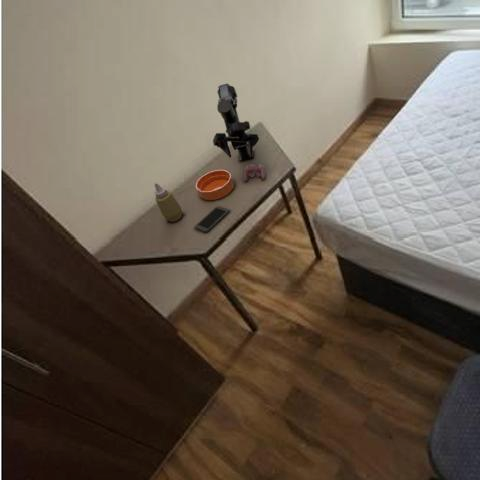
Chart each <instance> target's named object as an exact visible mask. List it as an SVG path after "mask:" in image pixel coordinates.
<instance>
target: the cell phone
mask: <svg viewBox="0 0 480 480" xmlns="http://www.w3.org/2000/svg"><path fill="white" fill-rule="evenodd" d="M229 213H230V210H229V209H227V208H224V207H221V206H215V208H213V209H212V210H211V211H210V212H209V213H208V214H206V215H205V216H204V217H203V218H202V219H201V220H200V221H199V222H198V223H197V224H196V225H194V228H195V229H196V230H199V231H202V232H204V233H209V232H210V230H212V229H213V228H214V227H215V226H216V225H218V224H219V222H220V221H221V220H223V219H224V218H225V217H226V216H227V215H228V214H229Z"/></svg>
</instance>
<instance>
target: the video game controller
mask: <svg viewBox="0 0 480 480" xmlns="http://www.w3.org/2000/svg"><path fill="white" fill-rule="evenodd" d="M255 176H256V177H261V179H262V180H265V179H266V167H265V166H264V165H263V164H259V163H252V164H249V165H246V166H245V167H244V170H243V180H244V181H245V182H247V181H248V179H249V177H250V178H254V177H255Z"/></svg>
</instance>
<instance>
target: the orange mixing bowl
mask: <svg viewBox="0 0 480 480" xmlns="http://www.w3.org/2000/svg"><path fill="white" fill-rule="evenodd" d="M234 187H235V181H234V179H233V176H232V174H231V173H230V172H229V171H228V170H225V169H217V170H216V169H214V170H212V171H209V172H207V173H205V174H203V175H202V176H201V177H200V178H198V179H197V181H196V182H195V188H196V191H197V193H198V195H199V196H200V198H201V199H203V200H204V201H205V200H206V201H215V200H219V199H222V198H224V197H226V196H227V195H229V194H230V193H231V192H232V191H233V189H234Z"/></svg>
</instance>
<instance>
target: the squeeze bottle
mask: <svg viewBox="0 0 480 480" xmlns="http://www.w3.org/2000/svg"><path fill="white" fill-rule="evenodd" d="M154 188H155V191H154V196H155V199H154V200H155V202H156V204H157V206H158V208H159V211H160V213H161V215H162V216H163V217H164V218H165V219H166V220H167V221H168V222H172V223H173V222H178V220H180V219H182V216H183V213H182V207H181V205H180V204H179V202H178V201H177V199H176V198H175V197H174V195H173V194H172V192H171V191H168V190H167V188H166V187H161V185H160V184H159V183H158V182H155V183H154Z"/></svg>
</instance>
